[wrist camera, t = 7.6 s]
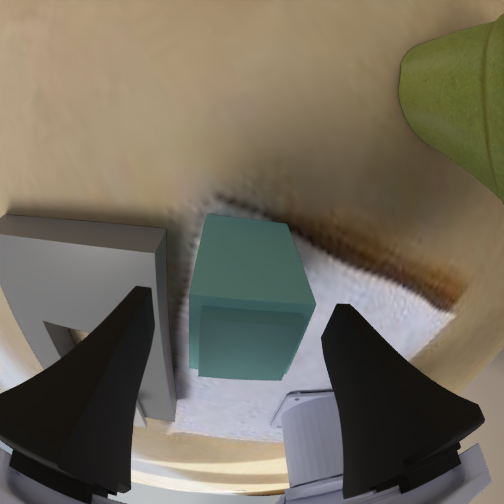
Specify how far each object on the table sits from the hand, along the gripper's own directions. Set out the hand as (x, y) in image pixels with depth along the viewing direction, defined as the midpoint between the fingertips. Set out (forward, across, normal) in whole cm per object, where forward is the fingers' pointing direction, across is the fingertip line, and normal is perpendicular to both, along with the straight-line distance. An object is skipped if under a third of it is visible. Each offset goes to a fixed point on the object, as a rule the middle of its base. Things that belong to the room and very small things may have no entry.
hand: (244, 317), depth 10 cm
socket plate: (+5, +10, +8) cm, 14 cm away
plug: (+5, 0, 0) cm, 5 cm away
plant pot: (+5, -9, -11) cm, 15 cm away
